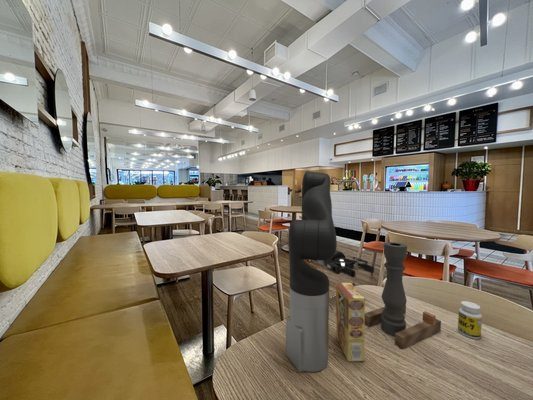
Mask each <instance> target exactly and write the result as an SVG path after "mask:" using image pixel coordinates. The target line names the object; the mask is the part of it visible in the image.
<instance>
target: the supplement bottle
mask: <svg viewBox="0 0 533 400" xmlns="http://www.w3.org/2000/svg"><path fill="white" fill-rule="evenodd" d="M457 316H458V320H457V330H458V332H459V333H460V334H461V335H462V336H465V337H467V338H470V339H475V340H479V339H481V337H482V321H483V315H482V313H481V306H480V305H479V304H478V303H477V304H476V303H473V302H471V301H468V300H467V301H465V300H463V301H461V302H460V308H458V315H457Z"/></svg>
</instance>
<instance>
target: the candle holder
mask: <svg viewBox="0 0 533 400" xmlns="http://www.w3.org/2000/svg"><path fill="white" fill-rule="evenodd" d="M383 255H384V258H385V260H386V262H385V263H384V264H383V266H384V268H385V269H386V281H385V284H384V286H383V290H382V293H381V299H382V302H383V304H384V307H385V309H383V311H382V313H383V314H382V316H381V323H380V329H381V331H382V332H383V333H384V334H386V335H388V336H389V337H393V338H395V333H397V332H399V331H402V330H404V329H407V322H406V316H405V314H403V312H402V310H403V308H404V307H405V305H406V306H407V297H406V291H405V288H404V283H403V272H404V271H406V268H407V267H406V266H405V265H404V263H405V261H406V258H407V257H408V245H407V244H405V243H402V242H396V241H385V242H384V243H383Z"/></svg>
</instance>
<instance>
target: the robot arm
mask: <svg viewBox="0 0 533 400" xmlns="http://www.w3.org/2000/svg"><path fill="white" fill-rule="evenodd" d="M301 184H302V185H301V219H294V220H292V221H291V223H290V224H289V228H288V253H289V255H288V257H289V315H288V316H286V317H285V354H286V357H288V359H289V360H290V362H291V363H292V364H293V366H294V367H295V368H296V370H297V372H299V373H302V372H309V373H315V372H320V371H323V370H324V369H325V368H326V367H327V366H328V364H329V329H330V328H329V327H330V326H329V325H330V322H329V319H330V318H329V317H330V314H329V313H330V279H329V276H328V275H327V274H326V273H324V271H321V270H319V269H317V268H315V267H314V266H311V265H310V264H308V263H307V262H306V261H305V260H308V261H310V260H311V261H315V262H316V263H318V264H320V265H322V266H323V267H325V268H326V269H327V270H328V271H330V272H332V273H333V274H336V275H340V274H342V275H346V276H349V277H351V278H355V277H356V271H358V270H361V271H362V270H363V271H365V272H368V273H371V274H374V273H375V267H374V265H370V264H368V263H369V262H368V260H366V259H362V258H358V257H355V256H354V257H352V258H350V257H346V255H345V253H343V252H342V251H339V250H337V243H338V242H337V233H336V232H337V231H336V227H335V224H334V219H333V209H332V208H333V205H332V204H333V203H332V198H331V197H332V196H331V177H330V175H329V174H328V173H326V172H318V171H308V170H307V171H306V172H304V174H303V177H302V183H301Z"/></svg>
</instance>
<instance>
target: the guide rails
mask: <svg viewBox="0 0 533 400" xmlns="http://www.w3.org/2000/svg"><path fill="white" fill-rule="evenodd" d="M383 309H385V306H382V307H380V308H376V309H373V310H370V311H367V312H365V326H366V327H368V328H370V327H373V326H375V325H378V324H381V316H382V314H383V313H382V311H383ZM406 309H407V304H406V305H405V307H404V308H403V310H402V312H403V314H404V315H405V314H406V313H407V310H406ZM441 326H442V320H440V319H438V318H437V317H436V315H434V314H432V313H431V312H428V311H423V312H422V321H421V322H418V323H416V324H414V325H411V326H409V327H406V329H404V330H402V331H399V332H397V333H395V337H394V345H395V346H397V347H398V348H399V349H401V350H405V349H407V348H408V347H410V346H412V345H415V344H417V343H419V342H421V341H423V340H425V339H427V338H429V337H432V336H433V335H435V334H438V333H440V332H441V331H442V327H441Z"/></svg>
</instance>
